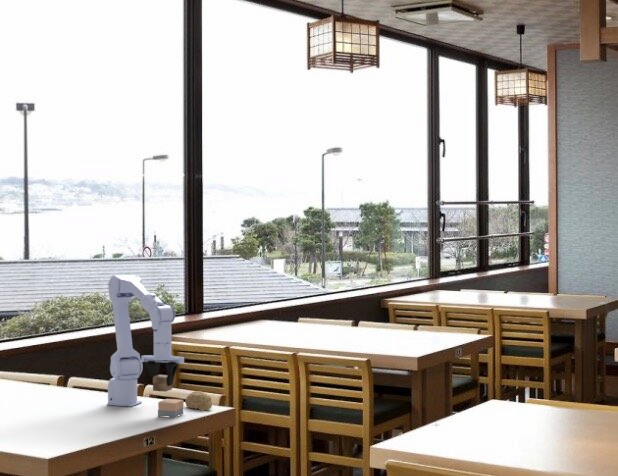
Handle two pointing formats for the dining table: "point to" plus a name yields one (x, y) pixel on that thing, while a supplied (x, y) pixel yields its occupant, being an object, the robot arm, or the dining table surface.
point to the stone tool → (198, 400)
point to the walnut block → (161, 383)
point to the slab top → (170, 404)
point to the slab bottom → (170, 413)
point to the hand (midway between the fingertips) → (162, 384)
